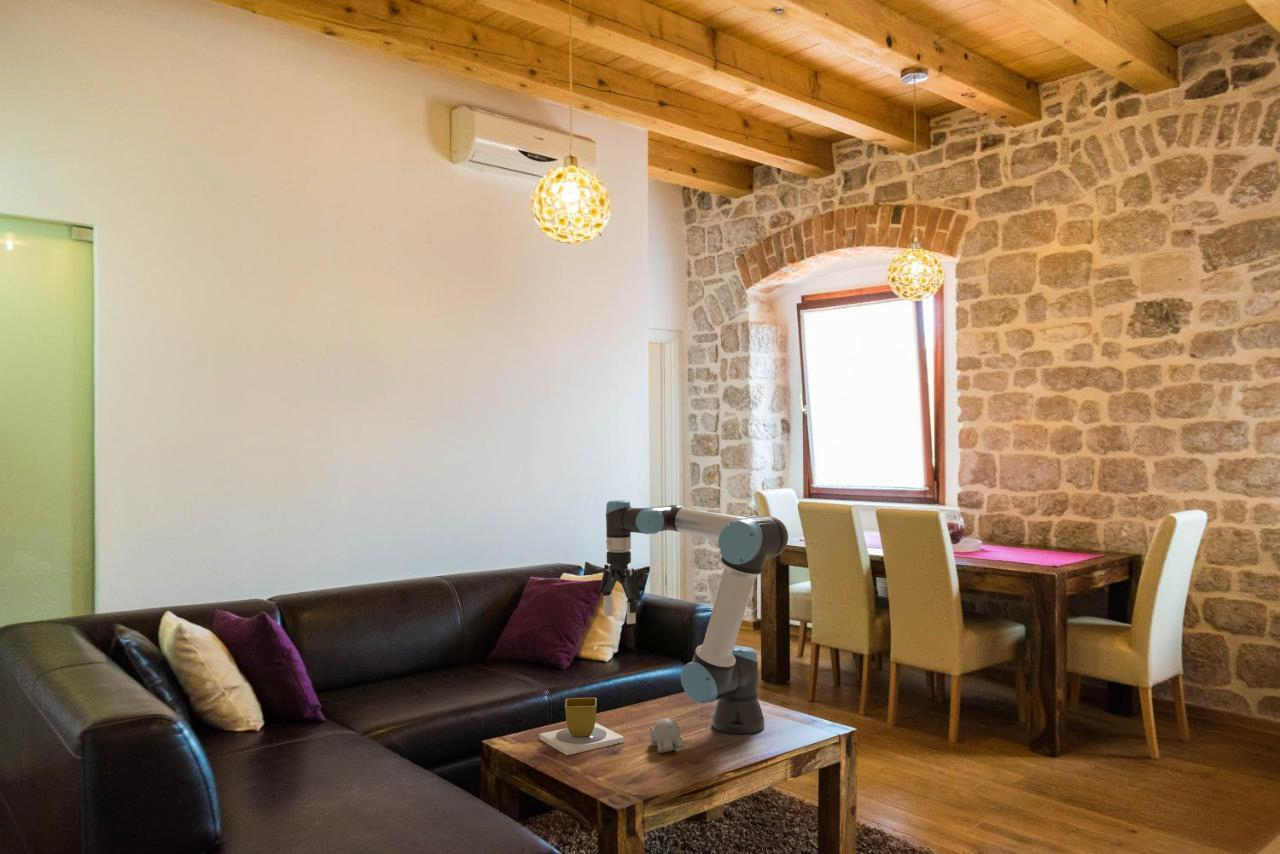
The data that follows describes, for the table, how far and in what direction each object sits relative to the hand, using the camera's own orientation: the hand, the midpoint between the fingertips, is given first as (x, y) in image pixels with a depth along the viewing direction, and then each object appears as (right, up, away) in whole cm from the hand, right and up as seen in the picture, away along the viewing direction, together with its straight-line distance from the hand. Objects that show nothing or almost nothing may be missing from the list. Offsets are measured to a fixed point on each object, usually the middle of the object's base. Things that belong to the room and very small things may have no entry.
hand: (619, 619), depth 274 cm
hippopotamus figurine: (+13, -28, -33) cm, 45 cm away
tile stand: (-10, -28, -25) cm, 39 cm away
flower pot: (-10, -27, -25) cm, 38 cm away
